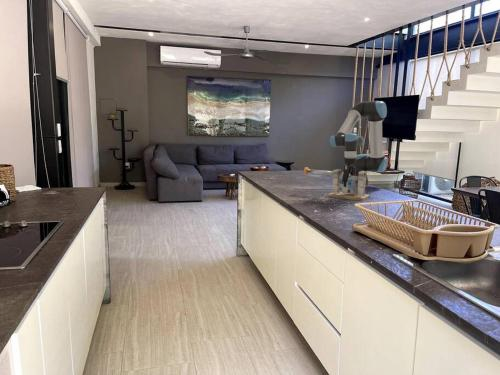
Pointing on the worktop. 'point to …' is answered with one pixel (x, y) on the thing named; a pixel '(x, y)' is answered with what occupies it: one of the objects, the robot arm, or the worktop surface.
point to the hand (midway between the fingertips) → (348, 190)
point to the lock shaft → (316, 171)
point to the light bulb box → (350, 184)
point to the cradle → (353, 196)
